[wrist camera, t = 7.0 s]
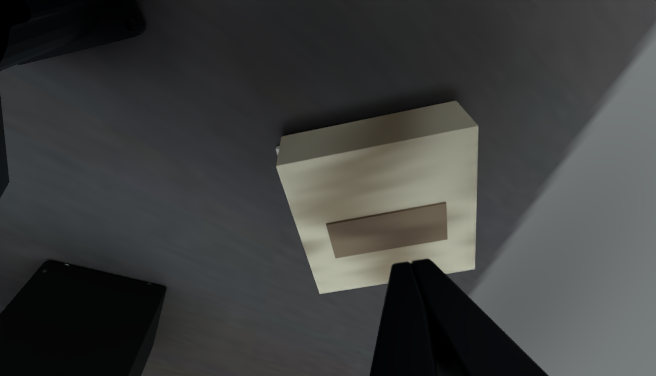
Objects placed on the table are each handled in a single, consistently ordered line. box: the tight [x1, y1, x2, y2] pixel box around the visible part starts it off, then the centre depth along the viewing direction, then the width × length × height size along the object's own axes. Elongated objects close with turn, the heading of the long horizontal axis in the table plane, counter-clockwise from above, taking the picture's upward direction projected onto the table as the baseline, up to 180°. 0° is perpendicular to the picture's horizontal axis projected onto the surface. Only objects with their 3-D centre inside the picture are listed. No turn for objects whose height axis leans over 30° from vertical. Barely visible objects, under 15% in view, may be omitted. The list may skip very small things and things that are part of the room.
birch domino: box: [276, 101, 478, 294], centre depth 20 cm, size 9×3×9 cm
